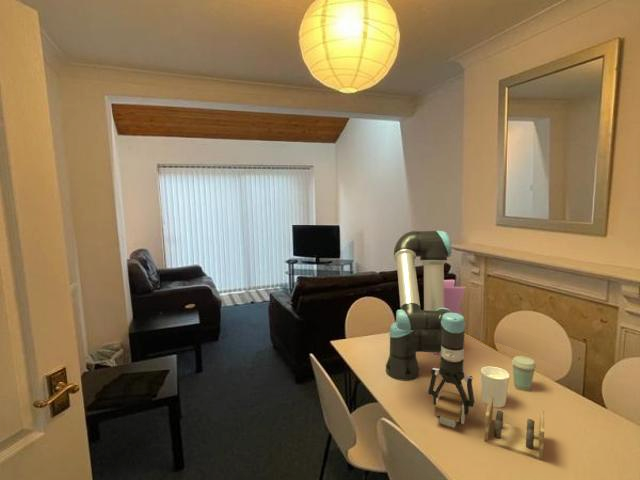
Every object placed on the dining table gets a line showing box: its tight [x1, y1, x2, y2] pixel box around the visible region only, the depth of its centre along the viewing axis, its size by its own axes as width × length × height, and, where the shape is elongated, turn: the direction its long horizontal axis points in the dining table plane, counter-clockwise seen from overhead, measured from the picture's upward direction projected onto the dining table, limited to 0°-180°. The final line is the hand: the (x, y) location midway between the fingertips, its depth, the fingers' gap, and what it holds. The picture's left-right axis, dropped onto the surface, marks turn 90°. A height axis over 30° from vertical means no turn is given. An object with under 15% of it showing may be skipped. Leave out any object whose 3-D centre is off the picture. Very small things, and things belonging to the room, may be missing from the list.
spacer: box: [439, 416, 458, 429], centre depth 124 cm, size 8×5×4 cm, turn 148°
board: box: [434, 389, 463, 423], centre depth 124 cm, size 12×8×3 cm, turn 147°
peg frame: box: [484, 396, 545, 462], centre depth 113 cm, size 16×12×10 cm
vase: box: [431, 279, 466, 356], centre depth 179 cm, size 16×16×35 cm
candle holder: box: [480, 365, 510, 409], centre depth 134 cm, size 10×10×12 cm
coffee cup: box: [511, 355, 537, 392], centre depth 143 cm, size 8×8×12 cm
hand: (450, 417), depth 124 cm, fingers closed on board, 8 cm apart
